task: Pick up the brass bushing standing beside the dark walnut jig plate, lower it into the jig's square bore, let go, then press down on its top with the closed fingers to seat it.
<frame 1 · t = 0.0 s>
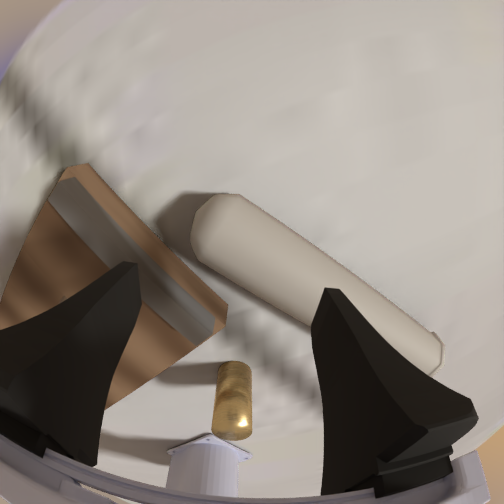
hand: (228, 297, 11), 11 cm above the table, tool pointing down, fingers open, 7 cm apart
jig: (87, 311, 23), on the table
bushing: (234, 372, 26), on the table
tube: (332, 289, 23), on the table
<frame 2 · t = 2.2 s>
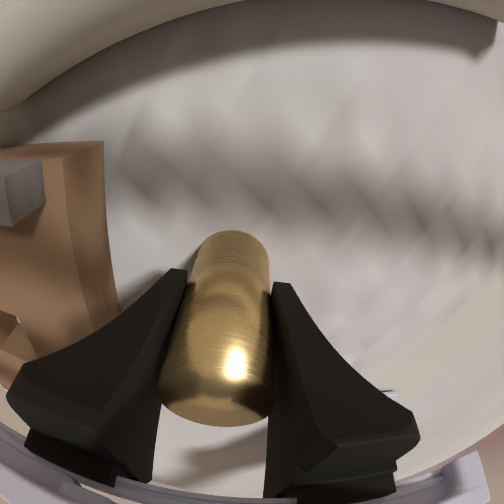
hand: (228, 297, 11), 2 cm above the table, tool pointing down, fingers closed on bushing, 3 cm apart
jig: (28, 306, 15), on the table
bushing: (232, 262, 13), on the table, touching gripper
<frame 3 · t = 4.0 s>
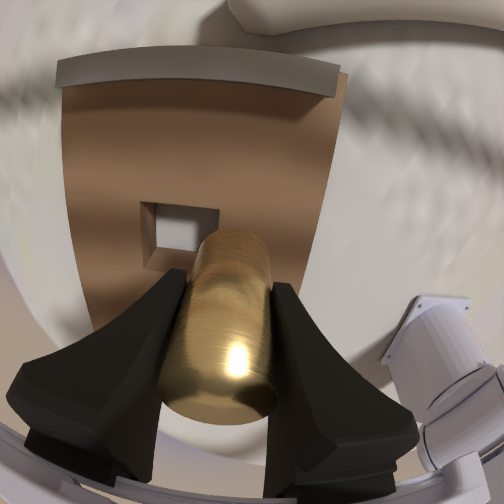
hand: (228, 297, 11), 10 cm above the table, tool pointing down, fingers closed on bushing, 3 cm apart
jig: (188, 221, 20), on the table
bushing: (233, 260, 13), point 7 cm above the table, touching gripper
when the fingers open (4 cm above the table, at t = 6.1 s): bushing drops 2 cm, resting in jig.
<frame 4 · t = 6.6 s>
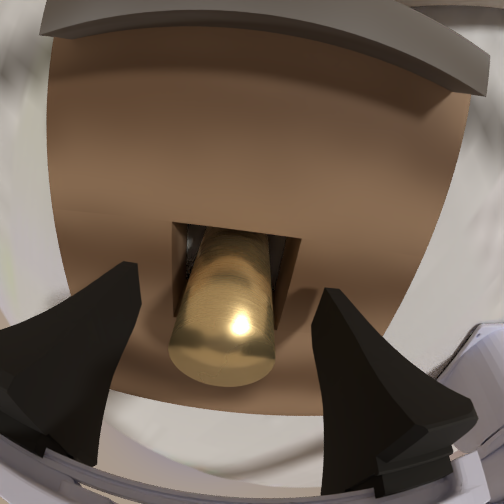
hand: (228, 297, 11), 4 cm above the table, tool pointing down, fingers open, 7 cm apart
jig: (234, 246, 14), on the table
bushing: (235, 243, 14), resting in jig
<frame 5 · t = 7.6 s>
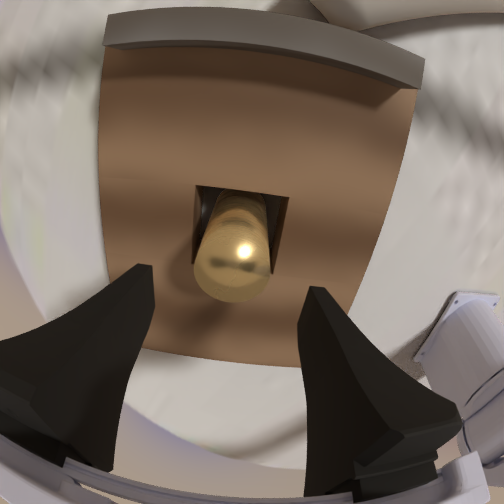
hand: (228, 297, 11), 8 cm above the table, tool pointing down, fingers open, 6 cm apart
jig: (239, 211, 18), on the table
bushing: (240, 209, 18), resting in jig
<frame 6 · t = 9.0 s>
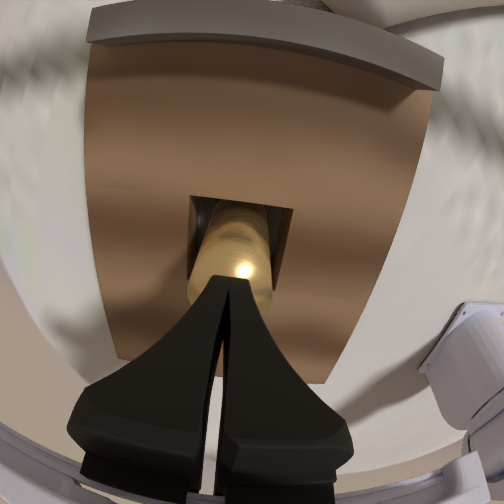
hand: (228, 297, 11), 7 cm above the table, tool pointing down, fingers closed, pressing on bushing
jig: (239, 221, 17), on the table
bushing: (239, 219, 17), resting in jig, touching gripper
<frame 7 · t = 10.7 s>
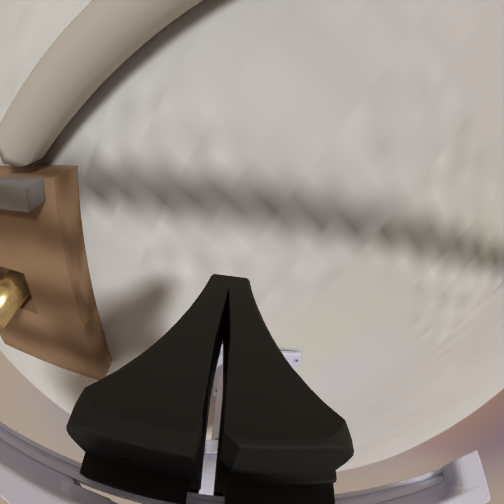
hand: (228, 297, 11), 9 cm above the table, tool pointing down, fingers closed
jig: (30, 272, 22), on the table
bushing: (30, 270, 22), resting in jig
tube: (137, 27, 13), on the table
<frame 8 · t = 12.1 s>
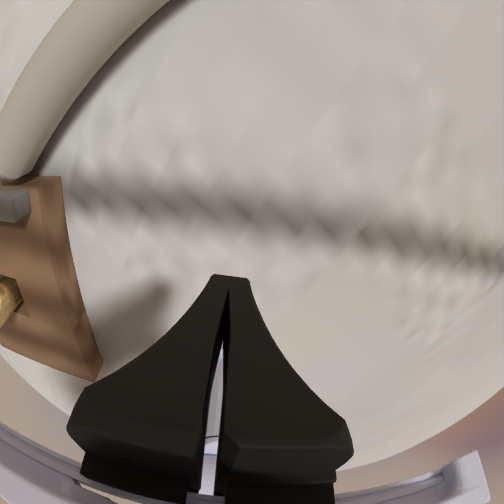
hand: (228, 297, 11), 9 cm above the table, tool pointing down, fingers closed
jig: (23, 277, 23), on the table
bushing: (23, 276, 23), resting in jig
tube: (108, 37, 13), on the table
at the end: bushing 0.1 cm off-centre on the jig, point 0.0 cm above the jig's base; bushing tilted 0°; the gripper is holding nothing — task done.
